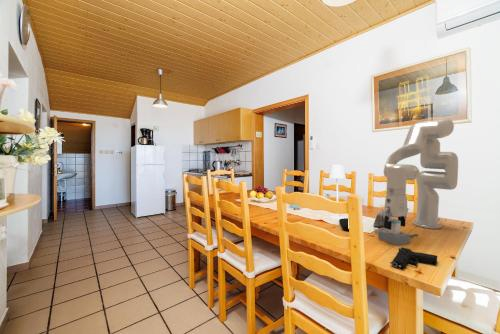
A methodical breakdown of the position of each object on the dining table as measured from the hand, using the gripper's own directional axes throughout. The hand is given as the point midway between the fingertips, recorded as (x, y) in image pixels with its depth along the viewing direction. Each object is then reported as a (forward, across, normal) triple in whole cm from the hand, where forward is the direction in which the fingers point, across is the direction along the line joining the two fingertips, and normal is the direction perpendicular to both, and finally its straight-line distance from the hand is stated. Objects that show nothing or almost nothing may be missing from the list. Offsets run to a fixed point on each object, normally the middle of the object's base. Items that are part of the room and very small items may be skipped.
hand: (394, 227), depth 103 cm
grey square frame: (+6, +4, +7) cm, 10 cm away
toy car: (+7, -5, +23) cm, 24 cm away
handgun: (+7, -15, -18) cm, 24 cm away
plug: (+6, 0, 0) cm, 6 cm away
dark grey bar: (+7, +12, 0) cm, 13 cm away
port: (+6, 0, 0) cm, 6 cm away
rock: (+7, +15, +18) cm, 25 cm away
